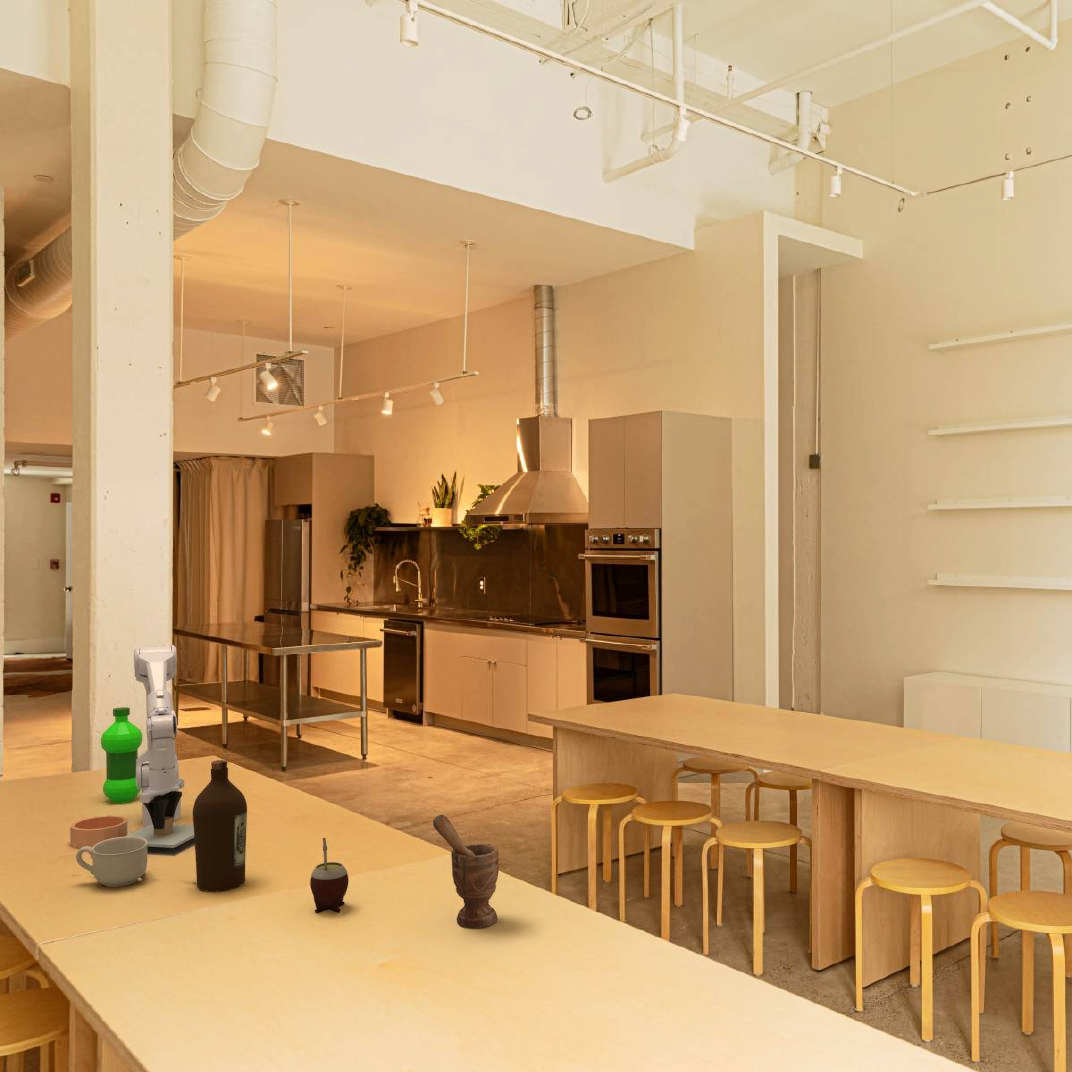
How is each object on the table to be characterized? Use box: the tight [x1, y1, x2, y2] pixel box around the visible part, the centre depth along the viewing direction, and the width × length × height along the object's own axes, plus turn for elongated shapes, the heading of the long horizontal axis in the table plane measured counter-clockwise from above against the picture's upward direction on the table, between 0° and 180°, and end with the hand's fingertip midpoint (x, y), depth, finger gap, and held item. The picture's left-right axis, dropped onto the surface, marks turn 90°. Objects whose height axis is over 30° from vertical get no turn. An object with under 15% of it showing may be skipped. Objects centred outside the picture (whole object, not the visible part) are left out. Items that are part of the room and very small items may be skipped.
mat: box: [147, 838, 195, 857], centre depth 237 cm, size 16×16×1 cm
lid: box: [127, 817, 194, 848], centre depth 237 cm, size 15×15×4 cm
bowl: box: [69, 815, 129, 849], centre depth 240 cm, size 12×12×5 cm
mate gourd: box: [309, 837, 349, 914], centre depth 195 cm, size 8×8×15 cm
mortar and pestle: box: [432, 814, 500, 929], centre depth 187 cm, size 12×9×20 cm
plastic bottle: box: [100, 706, 143, 804], centre depth 280 cm, size 10×10×25 cm
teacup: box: [75, 836, 148, 888], centre depth 213 cm, size 14×11×8 cm
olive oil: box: [192, 759, 248, 893], centre depth 210 cm, size 11×11×25 cm
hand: (163, 826), depth 237 cm, fingers closed on lid, 3 cm apart
